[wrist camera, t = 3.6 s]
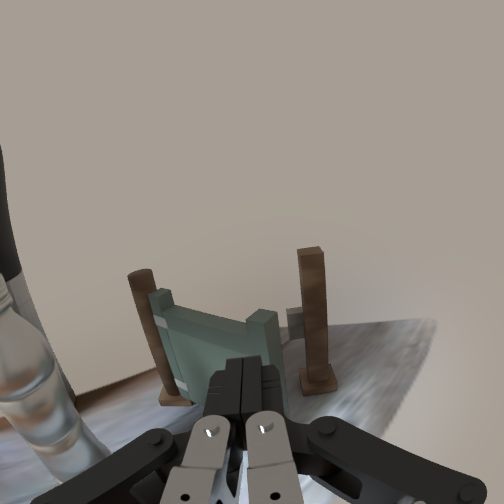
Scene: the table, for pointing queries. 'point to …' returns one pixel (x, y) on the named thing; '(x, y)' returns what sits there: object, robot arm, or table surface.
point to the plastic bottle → (41, 398)
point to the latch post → (312, 323)
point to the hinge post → (155, 336)
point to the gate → (212, 343)
